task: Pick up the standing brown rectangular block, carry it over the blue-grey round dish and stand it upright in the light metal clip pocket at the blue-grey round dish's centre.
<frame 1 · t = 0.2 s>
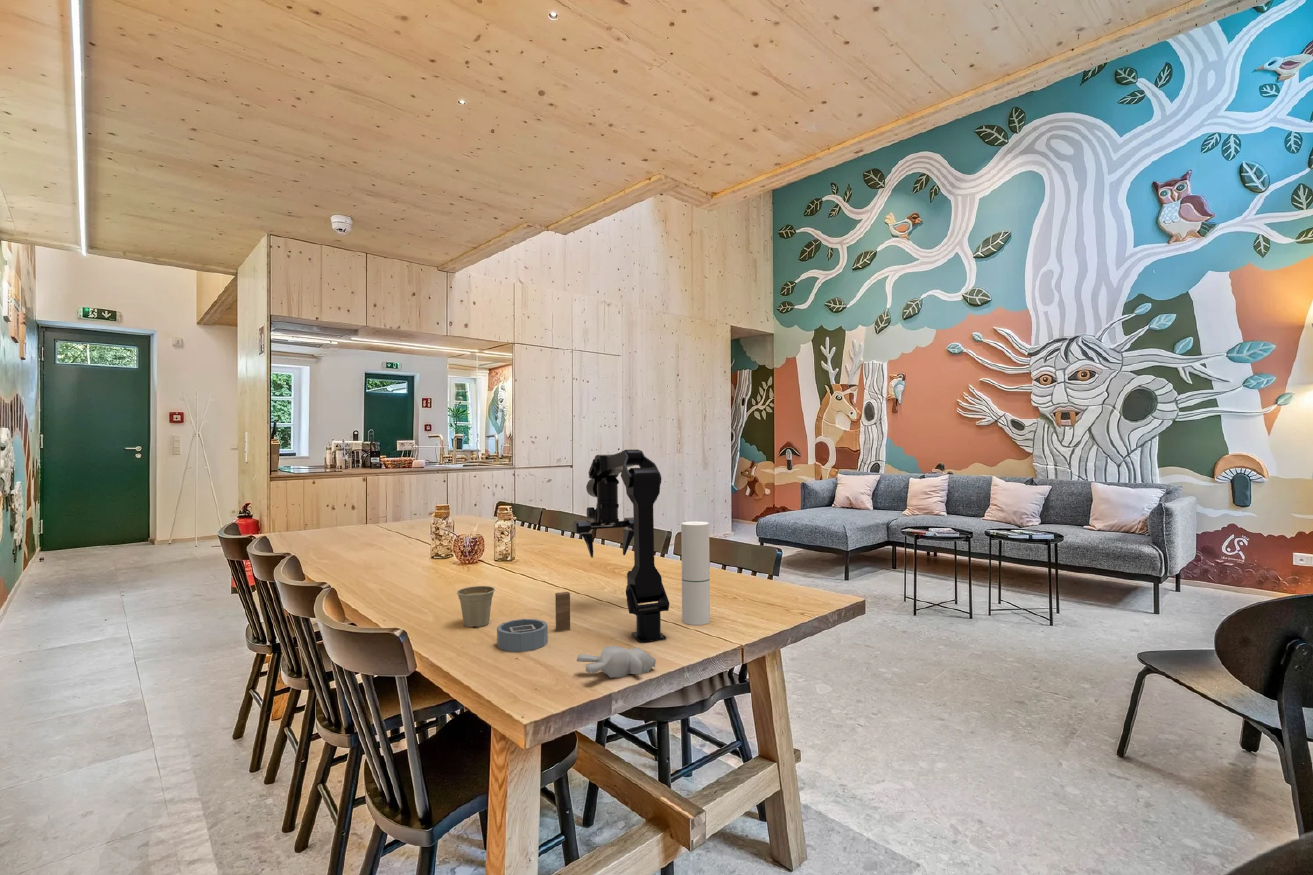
hand: (608, 556, 168), 14 cm above the table, fingers open, 9 cm apart
brown rectangular block: (563, 629, 149), on the table
blue-grey round dish: (522, 643, 140), on the table
clip: (522, 633, 140), in the blue-grey round dish, point 2 cm above the table
bunny figurine: (617, 675, 121), on the table
cylindrical container: (696, 621, 156), on the table
flower pot: (476, 624, 155), on the table
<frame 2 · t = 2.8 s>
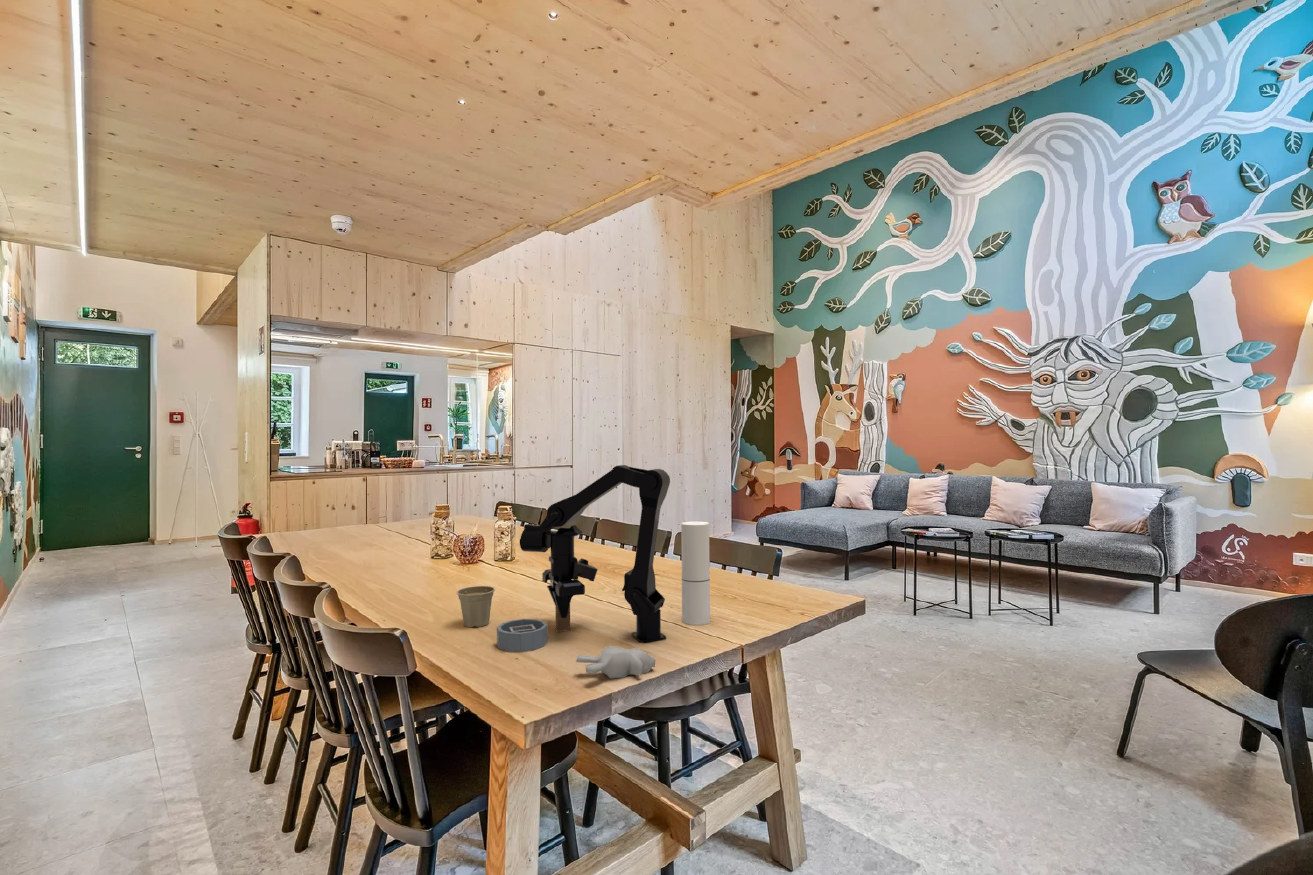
hand: (562, 616, 149), 3 cm above the table, fingers closed on brown rectangular block, 2 cm apart
brown rectangular block: (563, 629, 149), on the table, touching gripper
everything else where it was.
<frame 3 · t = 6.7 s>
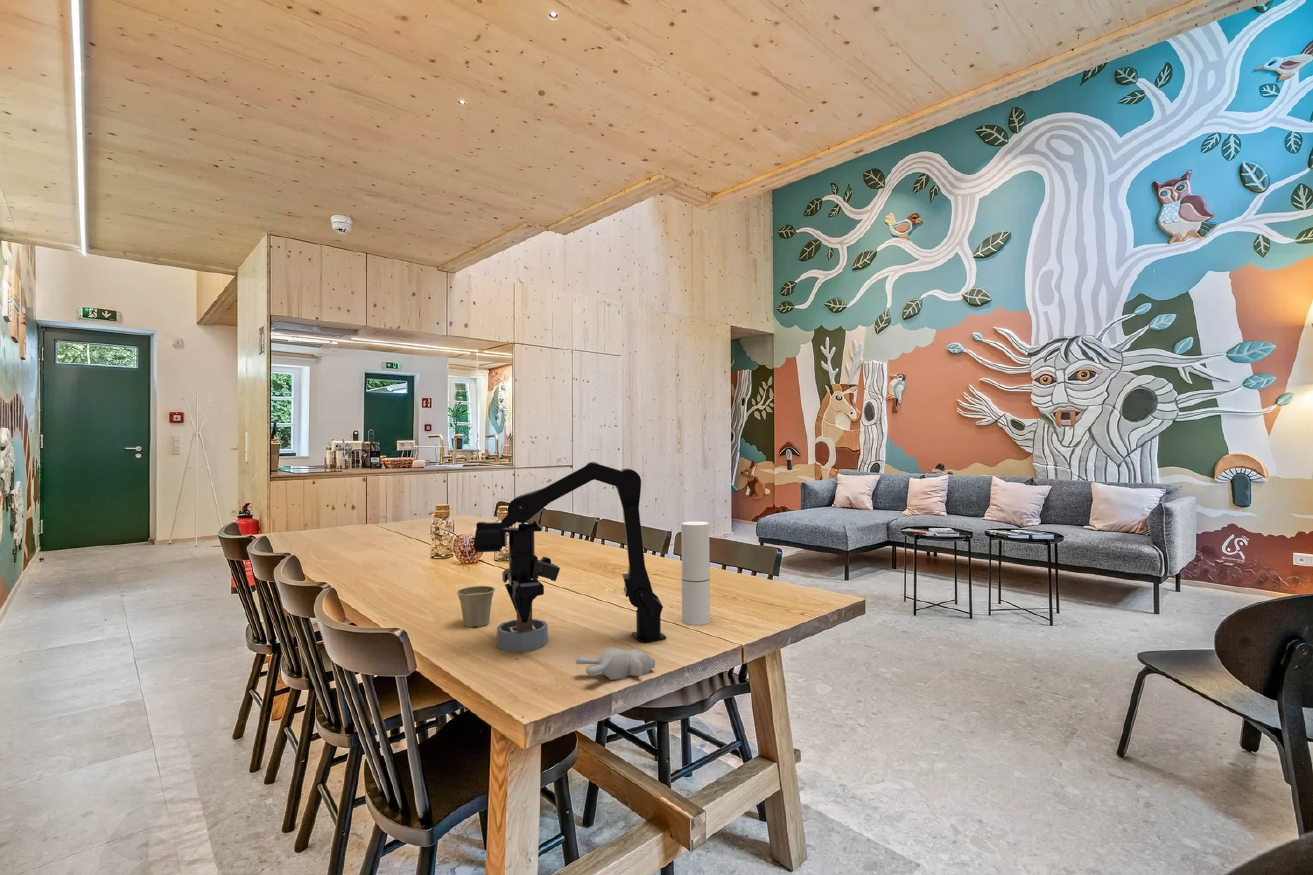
hand: (522, 618, 140), 6 cm above the table, fingers open, 5 cm apart
brown rectangular block: (524, 638, 140), point 1 cm above the table, touching blue-grey round dish
everything else where it was.
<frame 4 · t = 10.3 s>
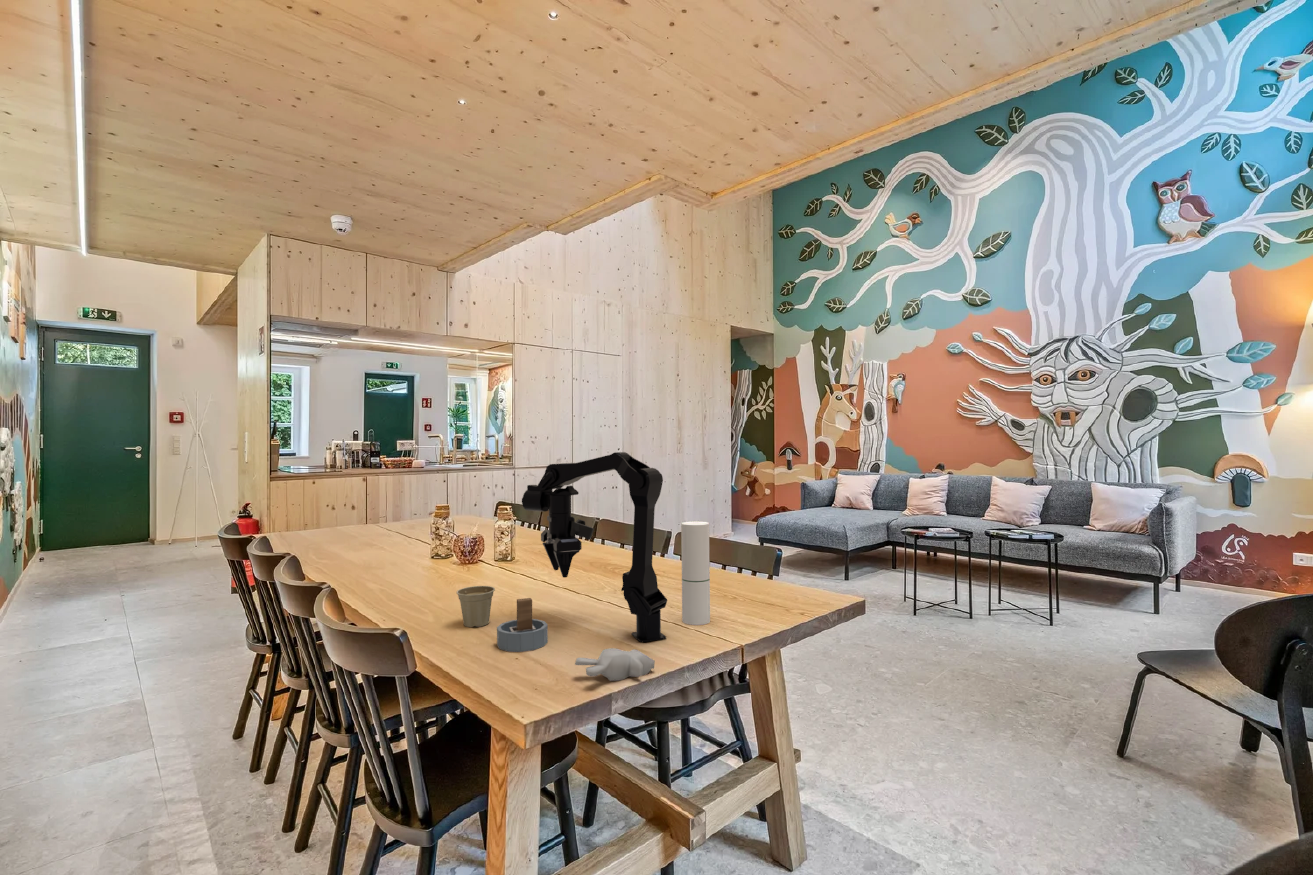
hand: (560, 573, 155), 12 cm above the table, fingers open, 9 cm apart
at the end: brown rectangular block 0.5 cm off-centre on the blue-grey round dish, point 1.0 cm above the blue-grey round dish's base; brown rectangular block tilted 0°; the gripper is holding nothing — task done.
